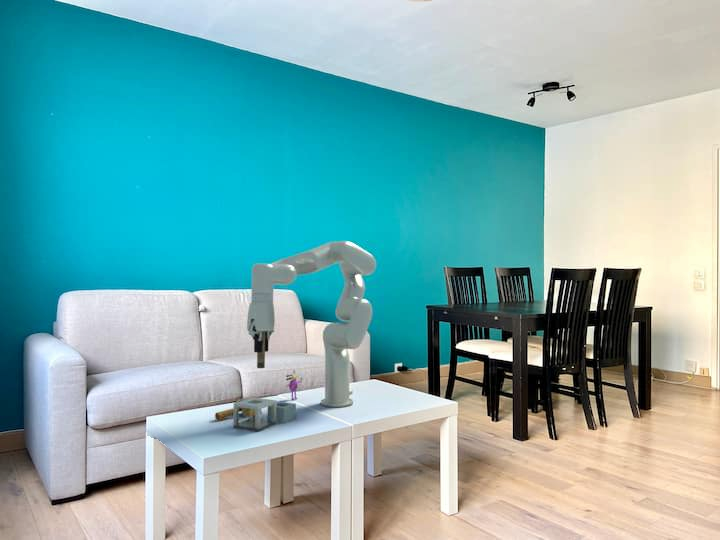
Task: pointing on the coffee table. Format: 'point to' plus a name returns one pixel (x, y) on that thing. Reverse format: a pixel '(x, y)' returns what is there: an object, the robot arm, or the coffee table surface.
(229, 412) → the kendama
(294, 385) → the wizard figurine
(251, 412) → the button
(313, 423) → the coffee table surface
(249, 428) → the guard frame
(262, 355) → the stylus
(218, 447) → the coffee table surface
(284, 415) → the stylus holder
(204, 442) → the coffee table surface
